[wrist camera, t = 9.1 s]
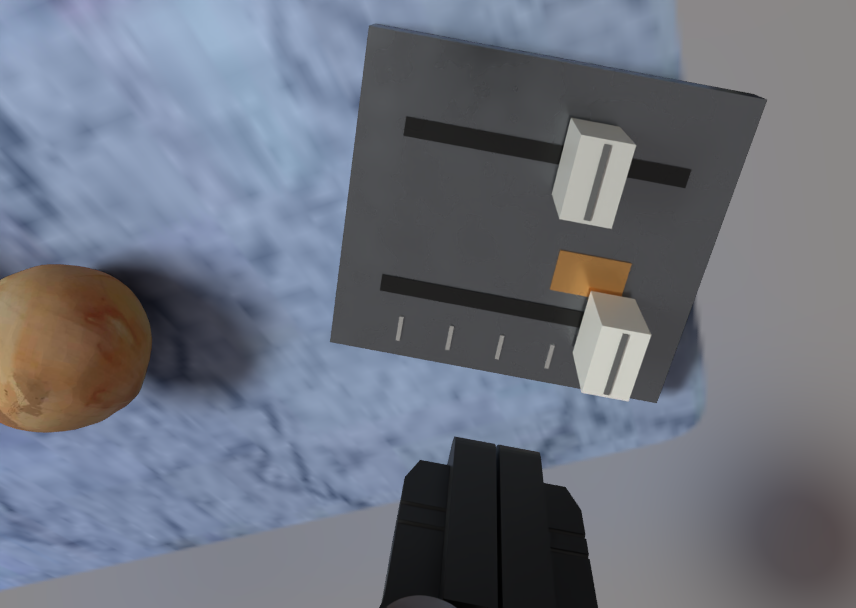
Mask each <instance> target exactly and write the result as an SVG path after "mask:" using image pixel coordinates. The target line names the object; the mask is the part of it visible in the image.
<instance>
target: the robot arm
mask: <svg viewBox="0 0 856 608" xmlns="http://www.w3.org/2000/svg"><path fill="white" fill-rule="evenodd" d="M588 555H589V553H588V547H587V541H586V539H585V530H584V524H583V518H582V513H581V509H580V508H579V506H578V505H577V504H576V502H575V500H574V499H573V497H572V496H571V495H570V493H569V491H568V490H567V489H566V487H562V486H557V485H551V484H546V483H543V474H542V464H541V456H540V453H539V452H535V451H530V450H525V449H519V448H514V447H509V446H503V445H497V447H496V445H495V444H492V443H486V442H481V441H476V440H470V439H465V438H460V437H454V439H453V442H452V446H451V451H450V455H449V460H448V464H447V465H444V464H439V463H434V462H428V461H423V460H420V461H419V462H418V463H417V464H416V465H415V466H414V467H413V469H412V470H411V471H410V472H409V473H408V474H407V475H406V476H405V479H404V484H403V489H402V495H401V500H400V505H399V510H398V515H397V521H396V526H395V531H394V536H393V541H392V547H391V553H390V558H389V564H388V571H387V575H386V581H385V587H384V593H383V598H382V603H381V605H380V607H379V608H598V605H597V600H596V594H595V588H594V582H593V576H592V570H591V565H590V559H588Z"/></svg>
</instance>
